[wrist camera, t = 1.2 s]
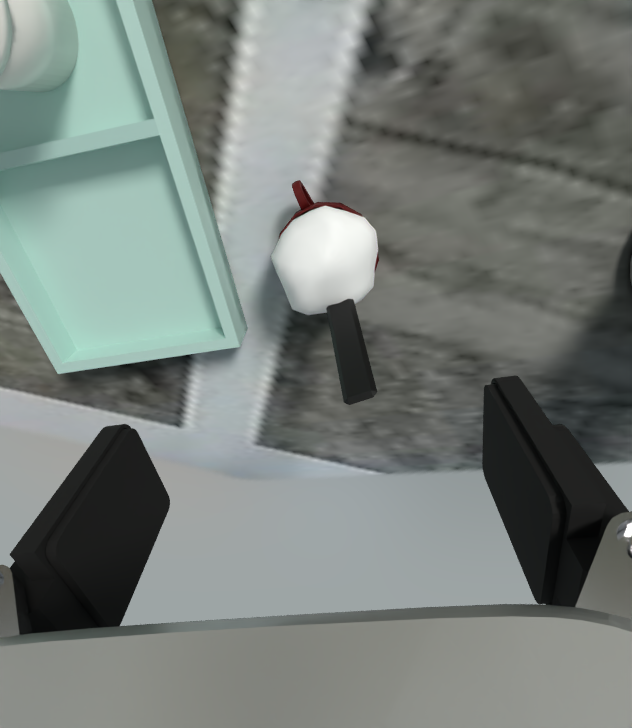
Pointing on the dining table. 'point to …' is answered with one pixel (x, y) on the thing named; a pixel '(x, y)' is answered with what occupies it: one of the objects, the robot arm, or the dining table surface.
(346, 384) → the cocoa
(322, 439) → the dining table surface
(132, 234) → the tray
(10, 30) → the sugar pot
